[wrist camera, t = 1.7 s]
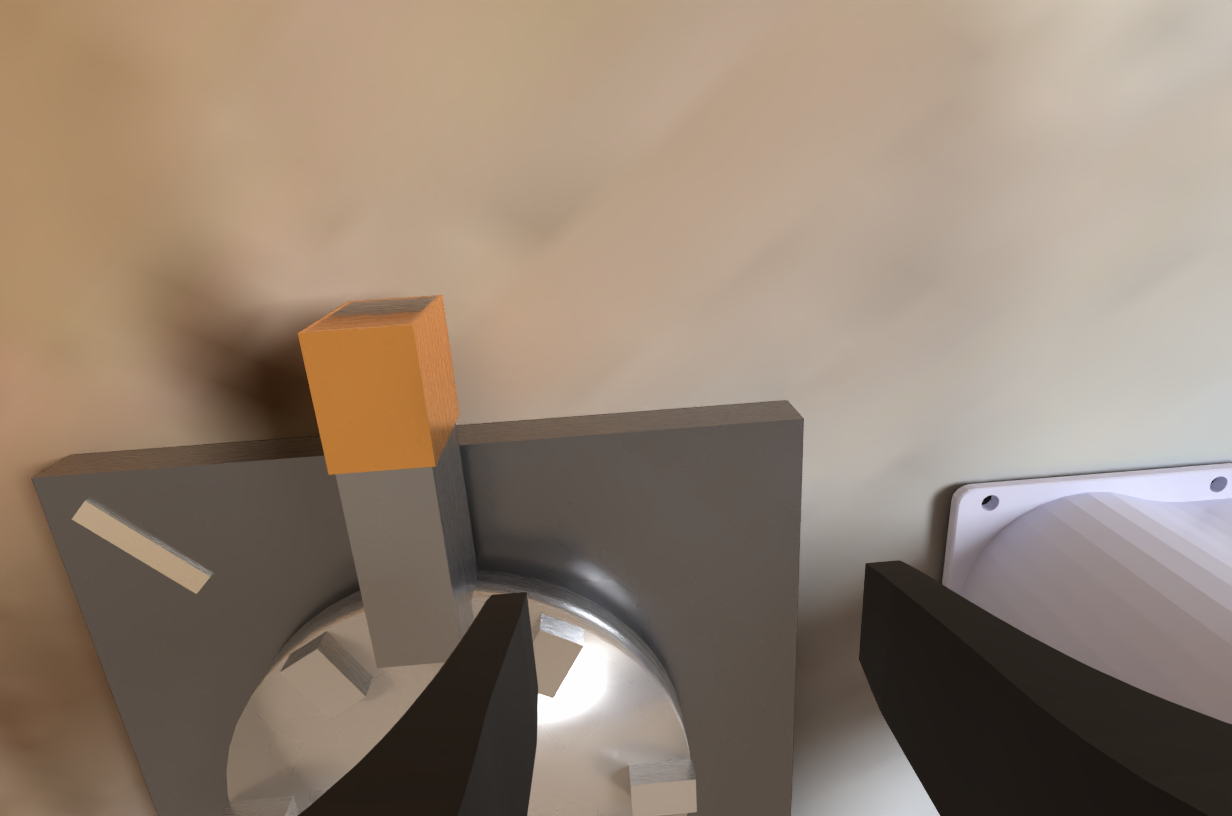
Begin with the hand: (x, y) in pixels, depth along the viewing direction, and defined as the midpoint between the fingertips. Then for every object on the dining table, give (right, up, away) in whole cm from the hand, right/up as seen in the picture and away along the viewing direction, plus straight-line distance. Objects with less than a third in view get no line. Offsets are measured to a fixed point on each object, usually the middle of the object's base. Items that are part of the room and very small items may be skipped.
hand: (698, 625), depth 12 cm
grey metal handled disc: (-6, -3, +8) cm, 10 cm away
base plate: (-6, -6, +11) cm, 14 cm away
